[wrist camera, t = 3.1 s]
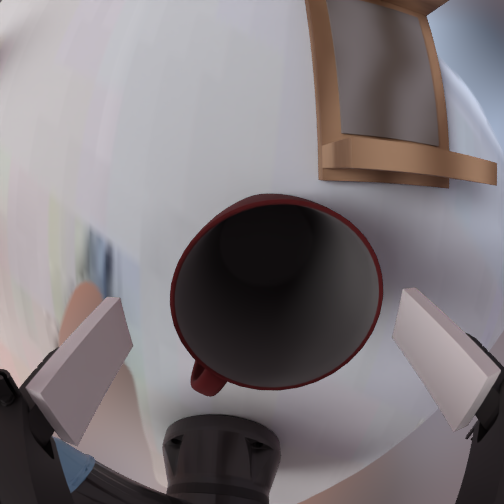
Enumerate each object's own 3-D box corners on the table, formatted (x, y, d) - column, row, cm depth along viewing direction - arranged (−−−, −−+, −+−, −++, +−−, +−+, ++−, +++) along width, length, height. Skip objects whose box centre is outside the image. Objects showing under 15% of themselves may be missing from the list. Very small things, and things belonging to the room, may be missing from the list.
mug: (257, 337, 24) (261, 437, 13) (170, 286, 22) (118, 371, 12) (343, 227, 21) (418, 280, 10) (250, 160, 19) (250, 149, 9)
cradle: (318, 179, 20) (352, 185, 13) (300, -24, 14) (314, -71, 7) (441, 187, 20) (495, 198, 13) (414, 3, 14) (450, -26, 7)
